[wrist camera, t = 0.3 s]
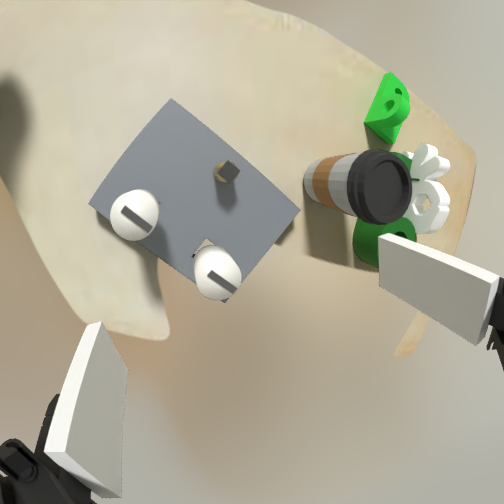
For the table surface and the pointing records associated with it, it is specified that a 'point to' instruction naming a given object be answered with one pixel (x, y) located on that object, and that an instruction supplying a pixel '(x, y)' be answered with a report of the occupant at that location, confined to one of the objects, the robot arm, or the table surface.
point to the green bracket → (381, 230)
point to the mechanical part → (388, 108)
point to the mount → (197, 193)
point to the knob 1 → (135, 214)
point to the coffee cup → (362, 185)
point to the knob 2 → (216, 272)
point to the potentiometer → (226, 172)
